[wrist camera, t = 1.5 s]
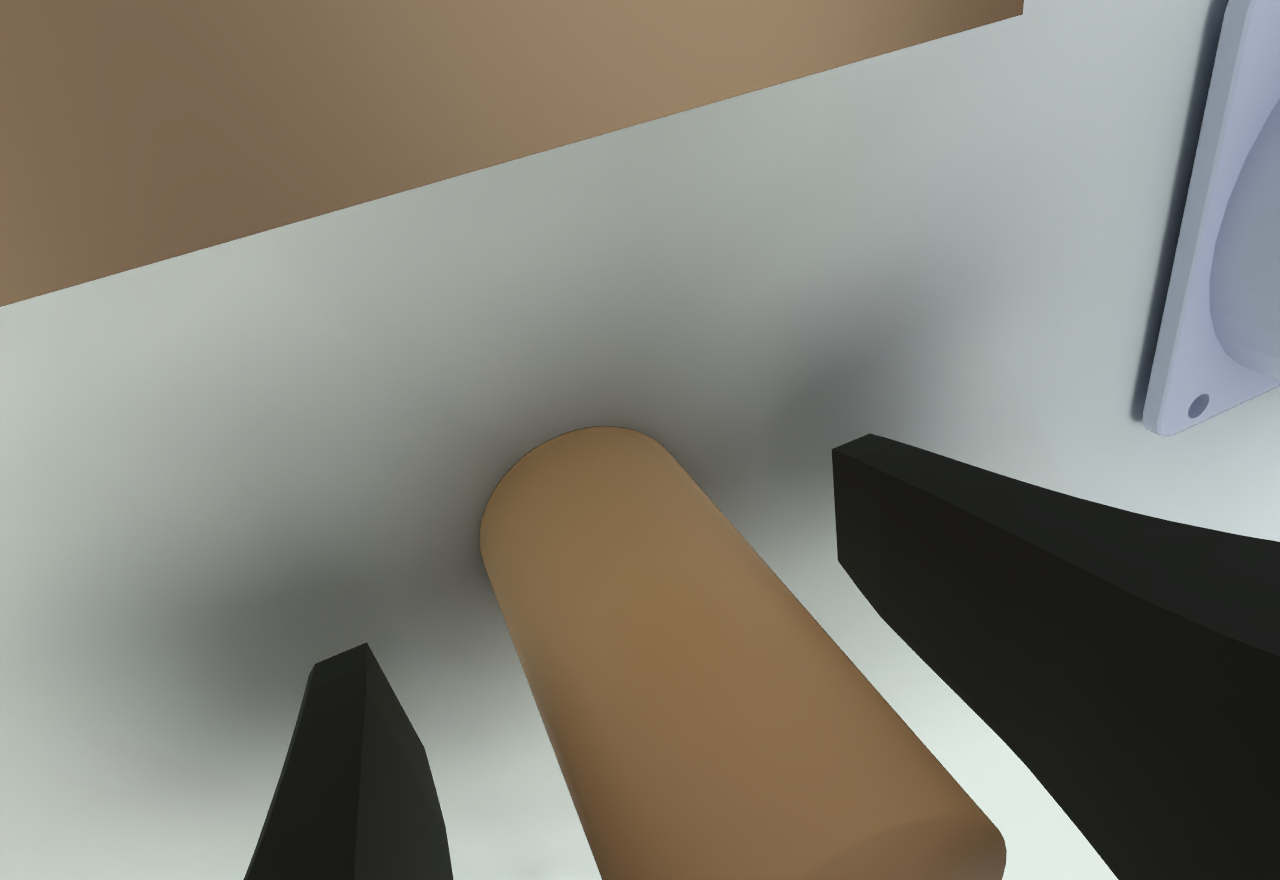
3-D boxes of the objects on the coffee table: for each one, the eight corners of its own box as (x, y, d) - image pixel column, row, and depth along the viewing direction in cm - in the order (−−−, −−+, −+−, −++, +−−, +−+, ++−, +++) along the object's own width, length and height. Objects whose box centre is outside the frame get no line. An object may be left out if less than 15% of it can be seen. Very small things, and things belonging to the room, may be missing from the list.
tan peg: (667, 394, 11) (1021, 750, 6) (698, 561, 13) (994, 949, 8) (449, 477, 10) (632, 968, 5) (514, 641, 12) (699, 1130, 7)
